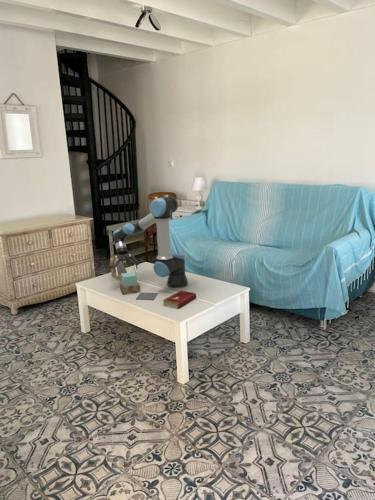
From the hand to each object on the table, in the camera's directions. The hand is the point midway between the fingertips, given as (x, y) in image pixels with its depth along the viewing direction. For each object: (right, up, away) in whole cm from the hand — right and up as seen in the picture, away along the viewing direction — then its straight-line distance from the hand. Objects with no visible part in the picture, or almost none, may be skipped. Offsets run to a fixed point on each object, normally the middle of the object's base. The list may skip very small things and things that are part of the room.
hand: (127, 274), depth 281 cm
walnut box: (+2, -11, 0) cm, 11 cm away
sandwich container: (-10, -4, +32) cm, 33 cm away
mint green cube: (+2, -6, -1) cm, 7 cm away
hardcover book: (+38, -17, -22) cm, 47 cm away
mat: (+15, -14, -12) cm, 24 cm away
